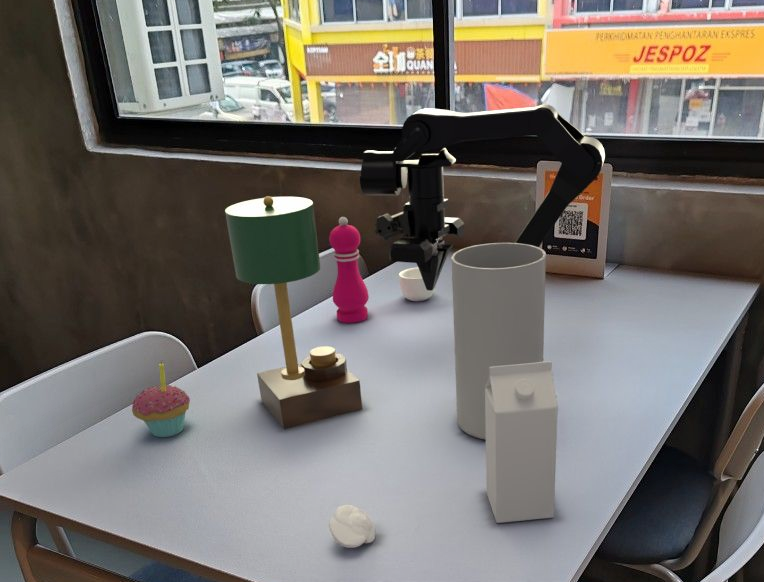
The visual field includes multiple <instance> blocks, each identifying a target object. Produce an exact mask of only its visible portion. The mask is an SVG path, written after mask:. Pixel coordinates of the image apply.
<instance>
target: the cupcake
mask: <svg viewBox="0 0 764 582" xmlns="http://www.w3.org/2000/svg"><path fill="white" fill-rule="evenodd" d="M158 368H159V378H160V379H159V380H160V386H158V385H156V386H151V387H148V388H146V389H144V390H142V391H141V392H139V393H138V394H137V395H136V396H135V398H134V399H133V402H132V406H131V412H132V414H133V416H134V418H136V419H138V420H140V421H143V422H144V423H145V425H146V426H147V428H148V429H149V430H150V432H151V434H152V435H153V436H155V437H157V438H169V437H173V436H176V435H179V434H180V433H181V432H182V431H183V430H184V426H185V417H186V412H187V411H188V410H189V408H190V402H191V398H190V396H189V395H188V394H187V393H186V392H185V390H183V389H181V388H179V387H177V386H176V385H175V386H173V385H168V384H166V376H165V366H164V363H163V359H162V358H161V359H160V363H159V364H158Z"/></svg>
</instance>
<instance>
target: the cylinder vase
mask: <svg viewBox="0 0 764 582" xmlns="http://www.w3.org/2000/svg"><path fill="white" fill-rule="evenodd" d="M546 262H547V253H546V251H545V250H544V249H543V248H541V247H540V246H539V247H536V246H532V245H527V244H520V243H515V242H492V243H482V244H475V245H471V246H467V247H464V248H461V249H459V250H457V251H455V252H453V254H452V255H451V281H452V282H451V284H452V285H451V286H452V311H453V312H452V313H453V338H454V339H453V340H454V344H453V345H454V369H455V370H454V371H455V373H454V374H455V397H456V399H455V400H456V421H457V424H458V426H459V428H460V429H461V430H462V431H463V432H464V433H466V434H468V435H469V436H472V437H474V438H476V439H477V438H478V439H481V440H485V441H486V422H485V386H486V383H487V381H488V378H489V376H490V372H489V367H493V366H504V365H515V364H526V363H536V362H544V349H545V348H544V347H545V346H544V342H545V341H544V340H545V307H546V306H545V305H546V304H545V303H546V302H545V301H546Z"/></svg>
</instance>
